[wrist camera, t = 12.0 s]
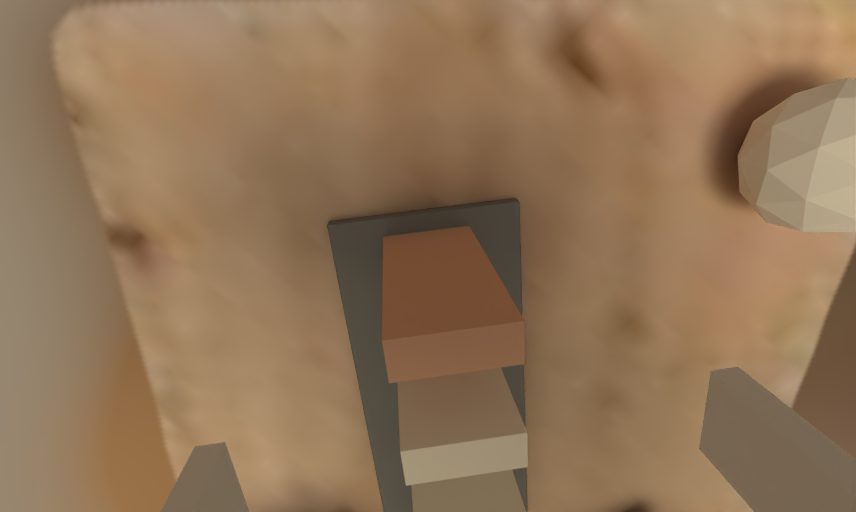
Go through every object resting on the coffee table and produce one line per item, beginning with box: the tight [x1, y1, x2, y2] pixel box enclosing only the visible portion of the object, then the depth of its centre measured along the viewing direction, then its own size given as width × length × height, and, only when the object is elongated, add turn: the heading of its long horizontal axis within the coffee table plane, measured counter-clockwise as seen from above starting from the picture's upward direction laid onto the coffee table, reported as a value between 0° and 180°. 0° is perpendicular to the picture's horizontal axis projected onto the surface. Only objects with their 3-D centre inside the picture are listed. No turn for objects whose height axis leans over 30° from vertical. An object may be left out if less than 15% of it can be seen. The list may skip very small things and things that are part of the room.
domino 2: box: [397, 368, 528, 486], centre depth 23 cm, size 2×5×11 cm, turn 96°
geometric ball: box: [737, 78, 856, 233], centre depth 23 cm, size 8×8×8 cm
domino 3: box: [411, 470, 526, 512], centre depth 24 cm, size 2×5×11 cm, turn 96°
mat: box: [327, 198, 527, 512], centre depth 30 cm, size 26×11×1 cm, turn 6°
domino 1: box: [382, 226, 526, 383], centre depth 21 cm, size 2×5×11 cm, turn 96°
